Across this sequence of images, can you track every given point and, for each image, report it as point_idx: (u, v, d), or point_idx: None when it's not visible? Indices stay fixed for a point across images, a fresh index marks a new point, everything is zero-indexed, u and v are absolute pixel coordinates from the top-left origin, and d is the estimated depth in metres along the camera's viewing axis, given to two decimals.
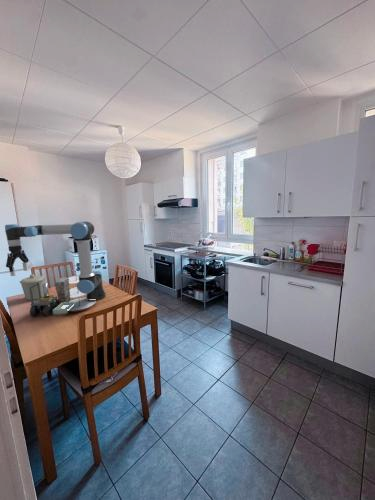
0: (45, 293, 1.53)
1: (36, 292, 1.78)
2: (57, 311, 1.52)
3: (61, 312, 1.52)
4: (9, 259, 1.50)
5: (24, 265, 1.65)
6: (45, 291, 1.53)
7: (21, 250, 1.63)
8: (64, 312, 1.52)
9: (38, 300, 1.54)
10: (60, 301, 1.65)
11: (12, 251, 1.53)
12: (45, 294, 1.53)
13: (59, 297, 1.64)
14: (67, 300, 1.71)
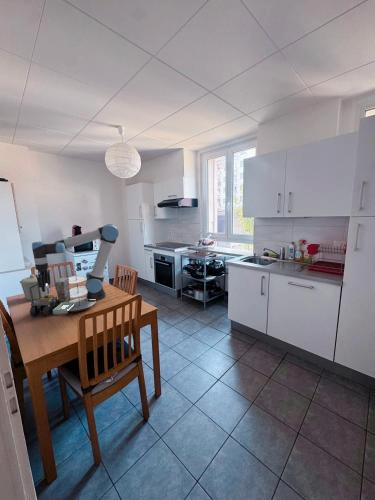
0: None
1: (36, 292, 1.78)
2: (57, 311, 1.52)
3: (61, 312, 1.52)
4: (39, 280, 1.47)
5: None
6: None
7: None
8: (64, 312, 1.52)
9: (38, 300, 1.54)
10: (60, 301, 1.65)
11: (39, 269, 1.47)
12: None
13: (59, 297, 1.64)
14: (67, 300, 1.71)
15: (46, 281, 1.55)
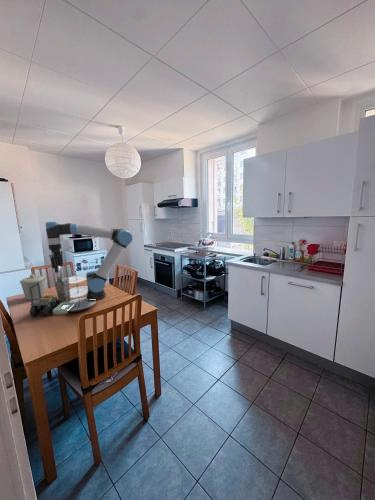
0: None
1: (36, 292, 1.78)
2: (57, 311, 1.52)
3: (61, 312, 1.52)
4: (53, 260, 1.46)
5: None
6: None
7: (60, 251, 1.57)
8: (64, 312, 1.52)
9: (38, 300, 1.54)
10: (60, 301, 1.65)
11: (53, 250, 1.47)
12: None
13: (59, 297, 1.64)
14: (67, 300, 1.71)
15: (59, 262, 1.54)
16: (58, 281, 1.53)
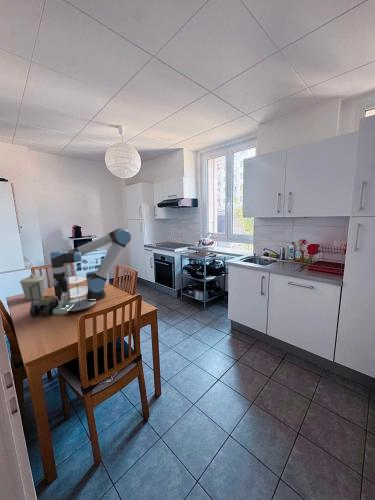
0: (63, 303, 1.56)
1: (36, 292, 1.78)
2: (57, 311, 1.52)
3: (61, 312, 1.52)
4: (56, 289, 1.49)
5: None
6: None
7: None
8: (64, 312, 1.52)
9: (38, 300, 1.54)
10: None
11: (57, 279, 1.50)
12: (62, 304, 1.56)
13: None
14: (67, 300, 1.71)
15: (64, 289, 1.59)
16: None
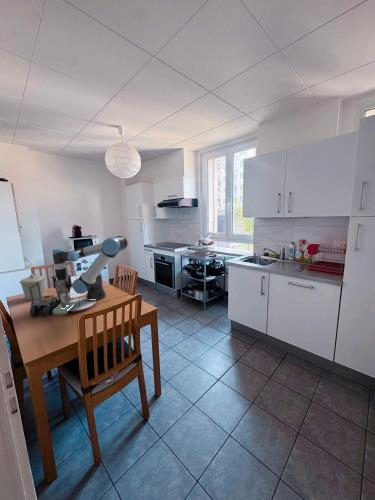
0: (63, 303, 1.56)
1: (36, 292, 1.78)
2: (57, 311, 1.52)
3: (61, 312, 1.52)
4: None
5: None
6: (62, 301, 1.56)
7: (69, 275, 1.68)
8: (64, 312, 1.52)
9: (38, 300, 1.54)
10: (60, 301, 1.65)
11: None
12: (62, 304, 1.56)
13: (59, 297, 1.64)
14: (67, 300, 1.71)
15: None
16: None
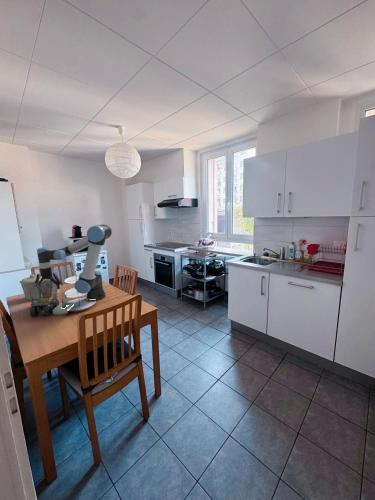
0: (64, 302, 1.57)
1: (36, 292, 1.78)
2: (57, 311, 1.52)
3: (61, 312, 1.52)
4: None
5: None
6: (64, 300, 1.57)
7: (54, 273, 1.66)
8: (64, 312, 1.52)
9: (38, 300, 1.54)
10: None
11: None
12: (63, 303, 1.57)
13: None
14: None
15: None
16: None
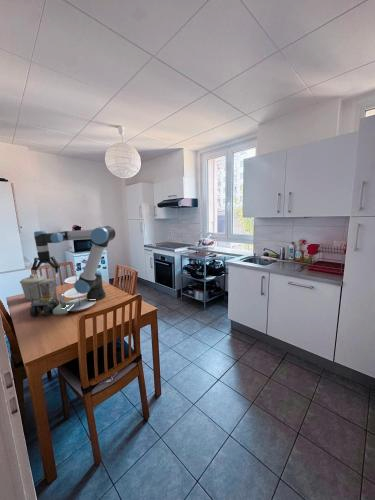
0: (62, 303, 1.55)
1: (36, 292, 1.78)
2: (57, 311, 1.52)
3: (61, 312, 1.52)
4: None
5: None
6: (62, 301, 1.55)
7: None
8: (64, 312, 1.52)
9: (38, 300, 1.54)
10: None
11: None
12: (62, 304, 1.56)
13: None
14: None
15: None
16: None
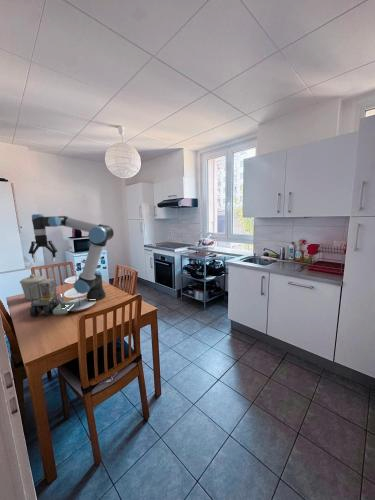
0: (62, 302, 1.56)
1: (36, 292, 1.78)
2: (57, 311, 1.52)
3: (61, 312, 1.52)
4: None
5: None
6: (61, 301, 1.56)
7: None
8: (64, 312, 1.52)
9: (38, 300, 1.54)
10: None
11: None
12: (62, 304, 1.56)
13: None
14: None
15: None
16: None
